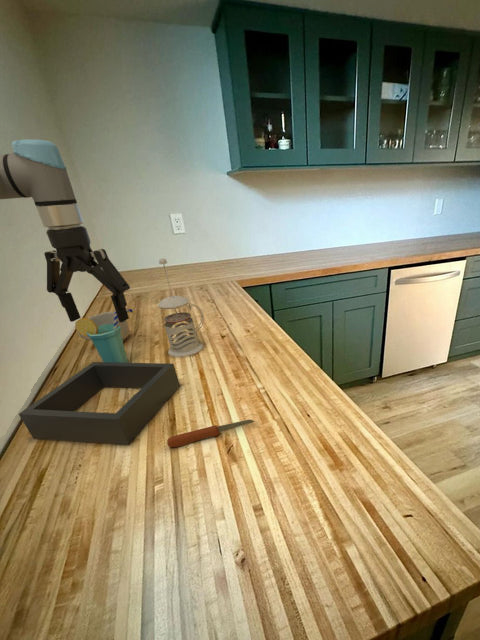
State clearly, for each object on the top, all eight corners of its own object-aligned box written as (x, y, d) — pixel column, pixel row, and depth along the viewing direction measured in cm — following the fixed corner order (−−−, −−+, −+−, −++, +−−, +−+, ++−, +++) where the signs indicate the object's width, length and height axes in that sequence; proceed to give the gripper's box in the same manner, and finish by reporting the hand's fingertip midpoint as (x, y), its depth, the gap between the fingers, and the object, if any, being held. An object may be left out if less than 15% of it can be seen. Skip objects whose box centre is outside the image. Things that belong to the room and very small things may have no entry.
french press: (165, 347, 98) (139, 258, 86) (204, 337, 102) (185, 251, 90) (170, 360, 90) (143, 265, 78) (213, 349, 95) (193, 257, 82)
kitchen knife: (169, 450, 59) (166, 441, 58) (169, 445, 61) (166, 436, 60) (255, 427, 63) (254, 418, 62) (254, 423, 64) (252, 414, 63)
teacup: (127, 331, 111) (119, 308, 107) (137, 340, 104) (129, 316, 100) (81, 345, 104) (70, 320, 100) (88, 356, 96) (76, 330, 92)
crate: (33, 438, 65) (18, 413, 62) (102, 383, 82) (93, 361, 79) (129, 445, 61) (117, 419, 58) (180, 386, 78) (173, 363, 75)
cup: (149, 354, 95) (132, 302, 87) (149, 365, 88) (130, 311, 81) (94, 365, 91) (71, 312, 83) (90, 378, 84) (65, 322, 77)
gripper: (127, 222, 74) (153, 315, 84) (30, 226, 78) (67, 314, 88) (105, 227, 67) (136, 326, 78) (1, 231, 71) (44, 325, 82)
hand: (99, 320), depth 83 cm, fingers open, 13 cm apart
